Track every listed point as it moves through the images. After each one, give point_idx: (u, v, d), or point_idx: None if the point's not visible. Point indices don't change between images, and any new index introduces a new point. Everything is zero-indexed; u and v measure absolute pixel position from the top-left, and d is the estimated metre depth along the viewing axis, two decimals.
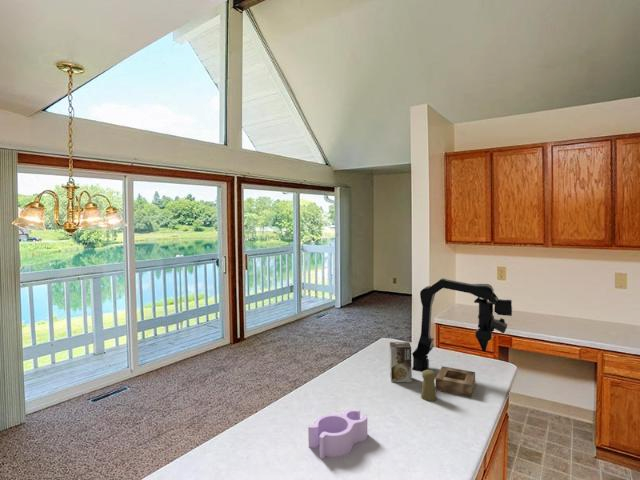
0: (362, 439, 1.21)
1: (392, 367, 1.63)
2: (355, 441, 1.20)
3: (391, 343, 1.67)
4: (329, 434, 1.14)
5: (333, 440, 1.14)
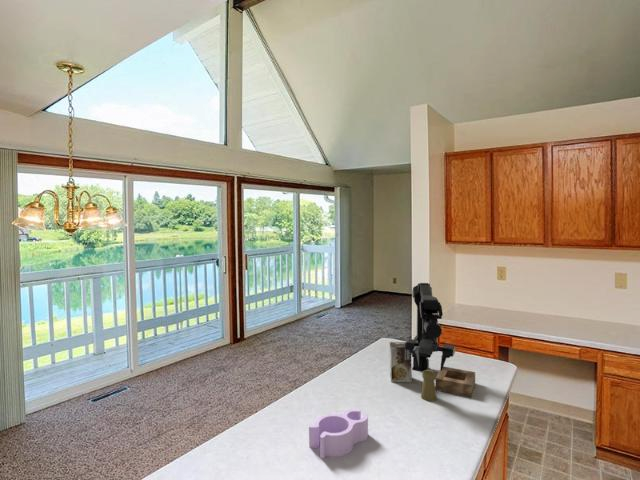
0: (363, 439, 1.21)
1: (392, 367, 1.63)
2: (356, 441, 1.20)
3: (391, 343, 1.67)
4: (330, 434, 1.14)
5: (334, 440, 1.14)
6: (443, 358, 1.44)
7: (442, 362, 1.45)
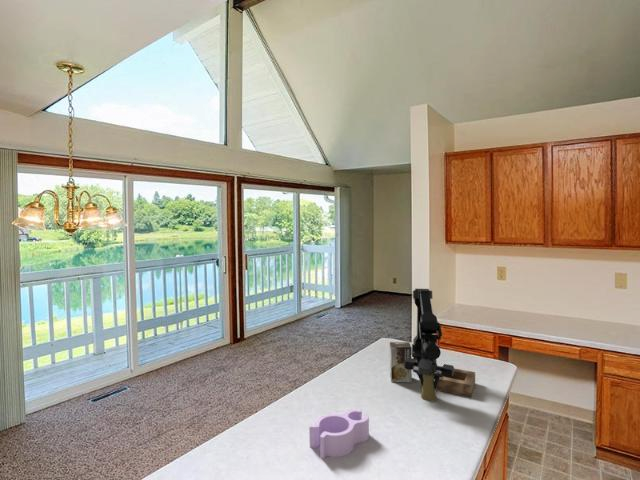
0: (363, 439, 1.21)
1: (392, 367, 1.63)
2: (356, 441, 1.20)
3: (391, 343, 1.67)
4: (330, 434, 1.14)
5: (334, 440, 1.14)
6: (436, 377, 1.46)
7: (435, 381, 1.47)
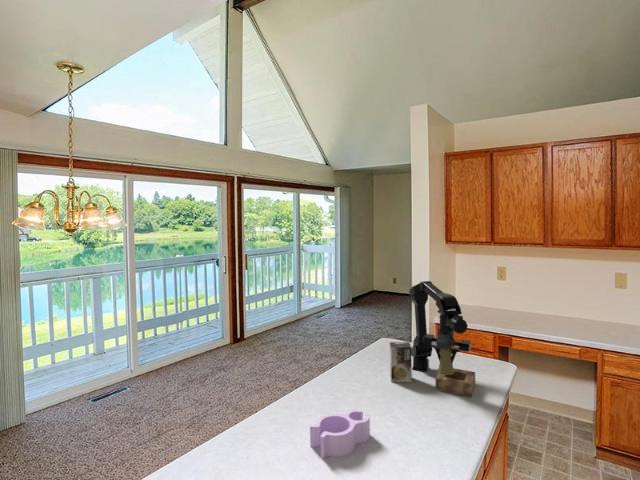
0: (364, 440, 1.21)
1: (392, 367, 1.63)
2: (357, 441, 1.20)
3: (391, 343, 1.67)
4: (330, 434, 1.14)
5: (334, 440, 1.14)
6: (454, 352, 1.51)
7: (453, 355, 1.52)
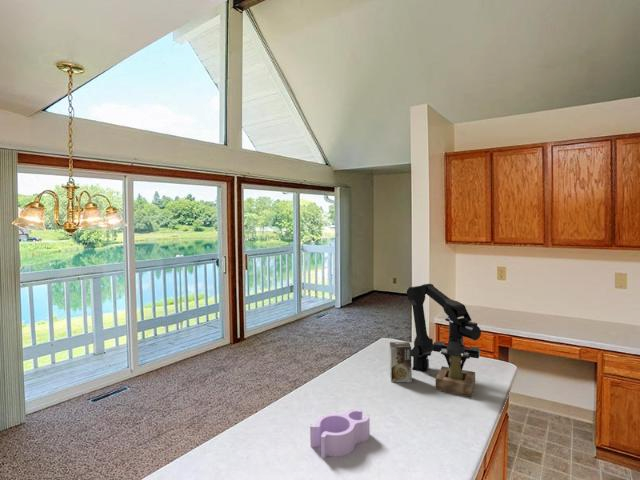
0: (364, 439, 1.21)
1: (392, 367, 1.63)
2: (357, 441, 1.20)
3: (391, 343, 1.67)
4: (331, 434, 1.14)
5: (335, 440, 1.14)
6: (463, 358, 1.55)
7: (462, 362, 1.56)
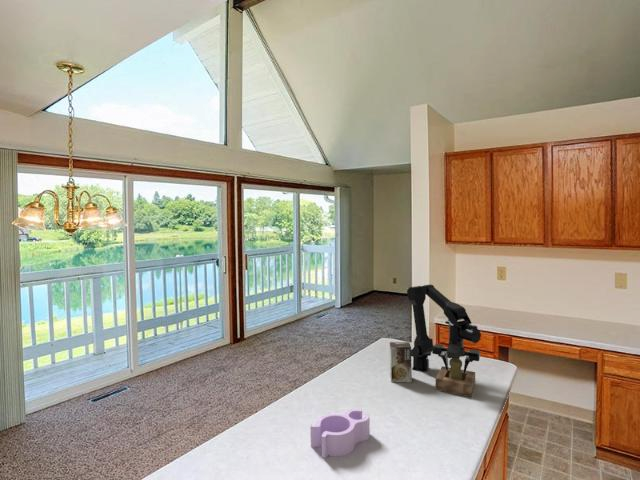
0: (364, 439, 1.22)
1: (392, 367, 1.63)
2: (357, 441, 1.21)
3: (391, 343, 1.67)
4: (331, 433, 1.14)
5: (335, 439, 1.14)
6: (466, 362, 1.54)
7: (465, 365, 1.55)
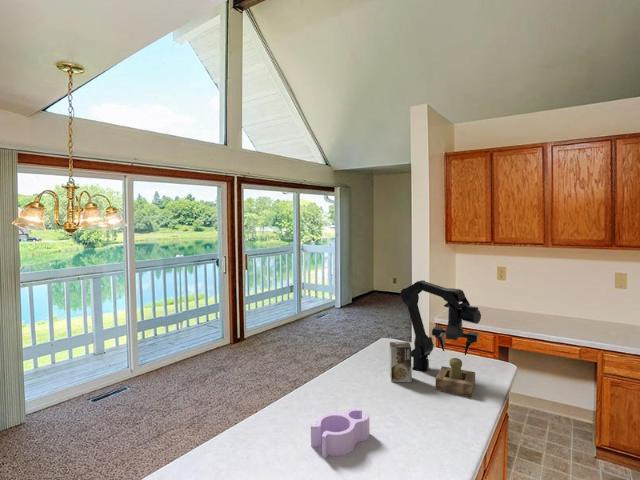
0: (364, 438, 1.22)
1: (392, 367, 1.63)
2: (357, 440, 1.21)
3: (391, 343, 1.67)
4: (331, 433, 1.15)
5: (335, 439, 1.14)
6: (467, 344, 1.58)
7: (466, 347, 1.59)
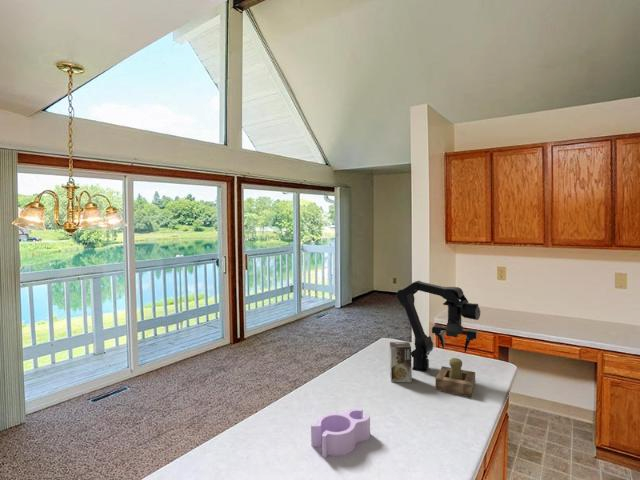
0: (365, 438, 1.22)
1: (392, 367, 1.63)
2: (358, 440, 1.21)
3: (391, 343, 1.67)
4: (332, 433, 1.15)
5: (336, 439, 1.14)
6: (467, 340, 1.61)
7: (466, 344, 1.62)
